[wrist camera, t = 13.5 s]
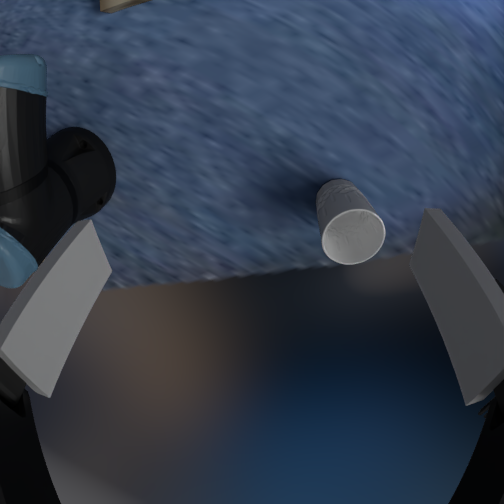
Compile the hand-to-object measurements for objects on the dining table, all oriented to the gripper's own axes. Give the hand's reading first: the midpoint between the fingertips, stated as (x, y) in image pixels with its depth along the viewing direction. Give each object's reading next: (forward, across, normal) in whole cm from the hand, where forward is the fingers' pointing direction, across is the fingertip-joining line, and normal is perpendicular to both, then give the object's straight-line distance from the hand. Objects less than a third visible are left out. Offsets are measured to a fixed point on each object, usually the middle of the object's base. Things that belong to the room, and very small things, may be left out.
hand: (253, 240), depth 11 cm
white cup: (+29, +10, -13) cm, 33 cm away
